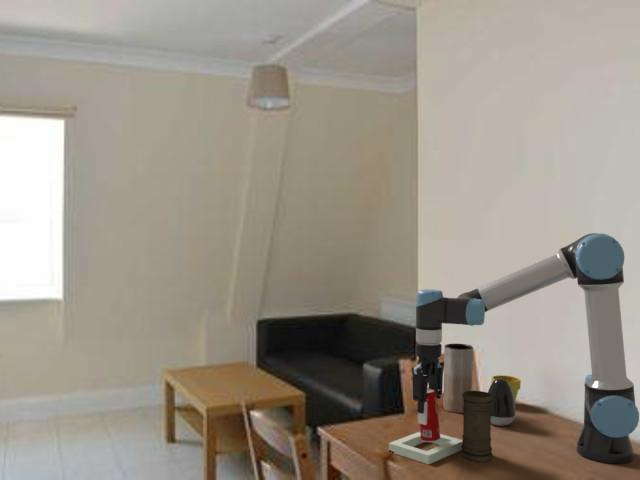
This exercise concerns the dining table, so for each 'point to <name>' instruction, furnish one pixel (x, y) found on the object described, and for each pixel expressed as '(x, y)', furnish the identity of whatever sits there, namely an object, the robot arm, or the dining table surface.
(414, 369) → the robot arm
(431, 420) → the beverage can
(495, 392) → the dark grey domed cylinder
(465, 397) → the container
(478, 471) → the dining table surface
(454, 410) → the planter
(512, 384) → the plant pot
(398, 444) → the socket block
